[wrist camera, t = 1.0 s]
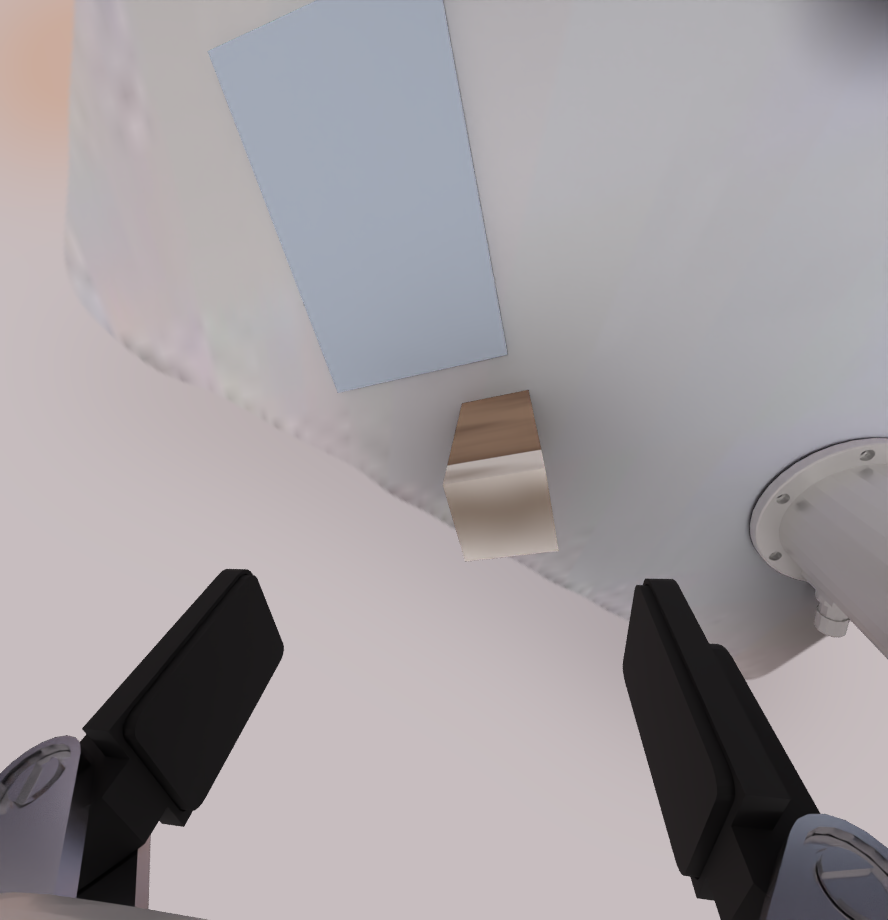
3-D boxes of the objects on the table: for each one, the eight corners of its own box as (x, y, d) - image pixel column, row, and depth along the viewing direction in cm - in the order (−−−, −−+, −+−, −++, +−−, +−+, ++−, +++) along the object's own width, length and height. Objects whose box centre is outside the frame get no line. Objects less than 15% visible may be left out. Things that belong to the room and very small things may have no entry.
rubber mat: (507, 352, 28) (507, 354, 28) (340, 390, 31) (337, 392, 31) (434, -46, 20) (432, -54, 19) (214, 55, 23) (207, 51, 22)
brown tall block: (538, 450, 31) (558, 551, 21) (476, 460, 33) (465, 561, 22) (528, 389, 29) (545, 468, 19) (462, 403, 30) (442, 484, 20)
